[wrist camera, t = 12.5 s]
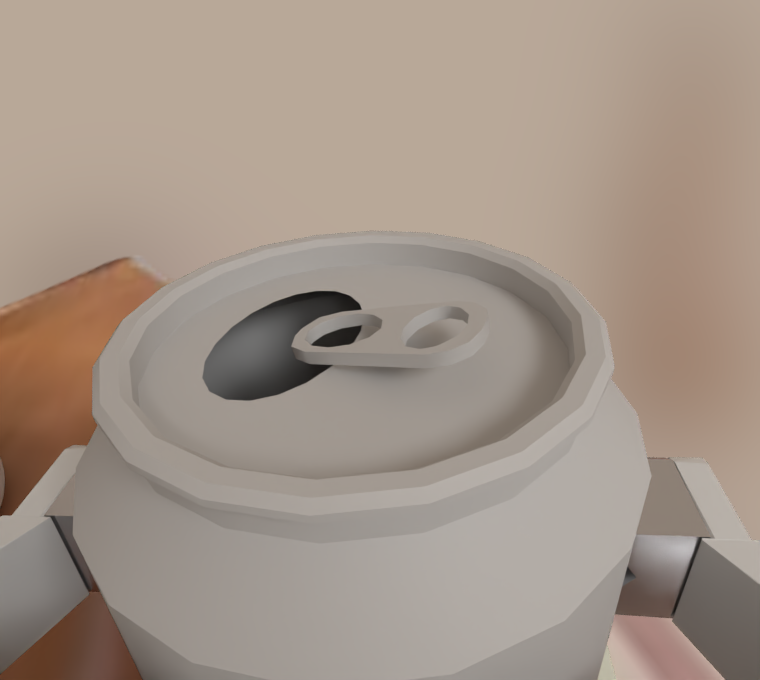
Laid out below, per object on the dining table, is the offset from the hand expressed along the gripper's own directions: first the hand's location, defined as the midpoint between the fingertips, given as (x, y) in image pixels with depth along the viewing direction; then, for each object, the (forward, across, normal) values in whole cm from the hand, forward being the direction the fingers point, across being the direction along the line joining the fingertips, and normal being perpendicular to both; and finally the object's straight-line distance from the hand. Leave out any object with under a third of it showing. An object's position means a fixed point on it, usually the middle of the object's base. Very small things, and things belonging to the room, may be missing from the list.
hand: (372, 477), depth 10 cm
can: (-1, 0, +8) cm, 8 cm away
